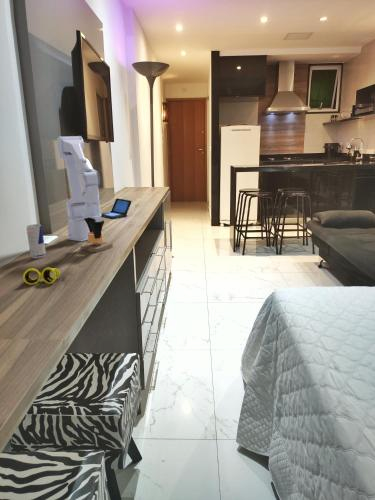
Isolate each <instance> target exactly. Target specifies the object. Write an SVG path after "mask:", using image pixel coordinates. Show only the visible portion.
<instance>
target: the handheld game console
mask: <svg viewBox="0 0 375 500" xmlns="http://www.w3.org/2000/svg"><path fill="white" fill-rule="evenodd" d="M131 205H132V200H130V199H123V198H116V199H115V200H114V202H113V206H112V207H111V210H110V211H108V212H103V213H101V218H102V217H103V218H107V219H111V220H117V219H121V218H127V217H128V212H129V210H130V206H131Z"/></svg>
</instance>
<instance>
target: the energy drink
mask: <svg viewBox="0 0 375 500" xmlns="http://www.w3.org/2000/svg"><path fill="white" fill-rule="evenodd" d="M26 235H27V240H28V247H29V253H30V254H29V255H30V257H31V258H32V259H41V258H42V259H43V258H45V257H46V255H47V253H46V247H45V246H46V245H45V240H44V232H43V226H42V224H40V223H39V224H37V223H36V224H29V225H27V226H26Z"/></svg>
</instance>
